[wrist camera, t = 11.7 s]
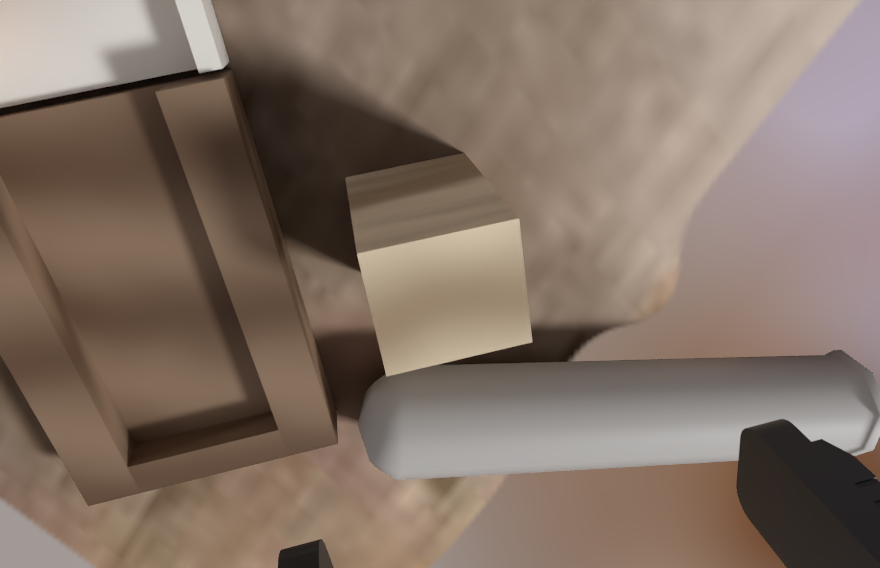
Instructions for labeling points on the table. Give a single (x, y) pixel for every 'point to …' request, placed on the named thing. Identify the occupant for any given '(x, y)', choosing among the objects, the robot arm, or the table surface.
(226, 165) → the slot board
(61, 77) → the tray
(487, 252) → the block
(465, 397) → the tube
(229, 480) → the table surface
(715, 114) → the table surface
